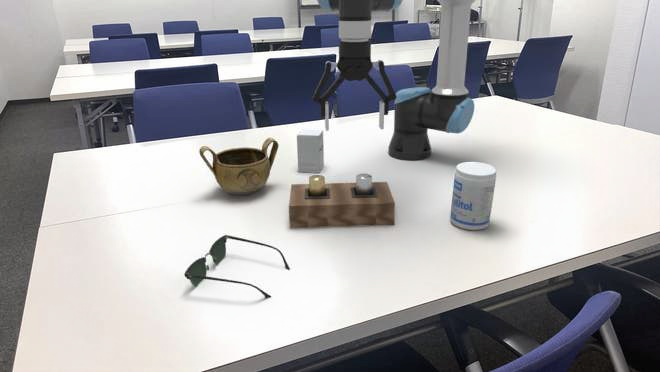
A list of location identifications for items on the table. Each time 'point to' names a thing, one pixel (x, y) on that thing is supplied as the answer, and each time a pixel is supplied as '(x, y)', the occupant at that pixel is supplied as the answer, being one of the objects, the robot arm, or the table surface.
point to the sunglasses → (218, 252)
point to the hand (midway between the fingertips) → (354, 128)
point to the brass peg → (317, 185)
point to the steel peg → (363, 184)
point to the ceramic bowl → (242, 167)
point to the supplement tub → (472, 195)
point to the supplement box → (310, 150)
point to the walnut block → (341, 206)
